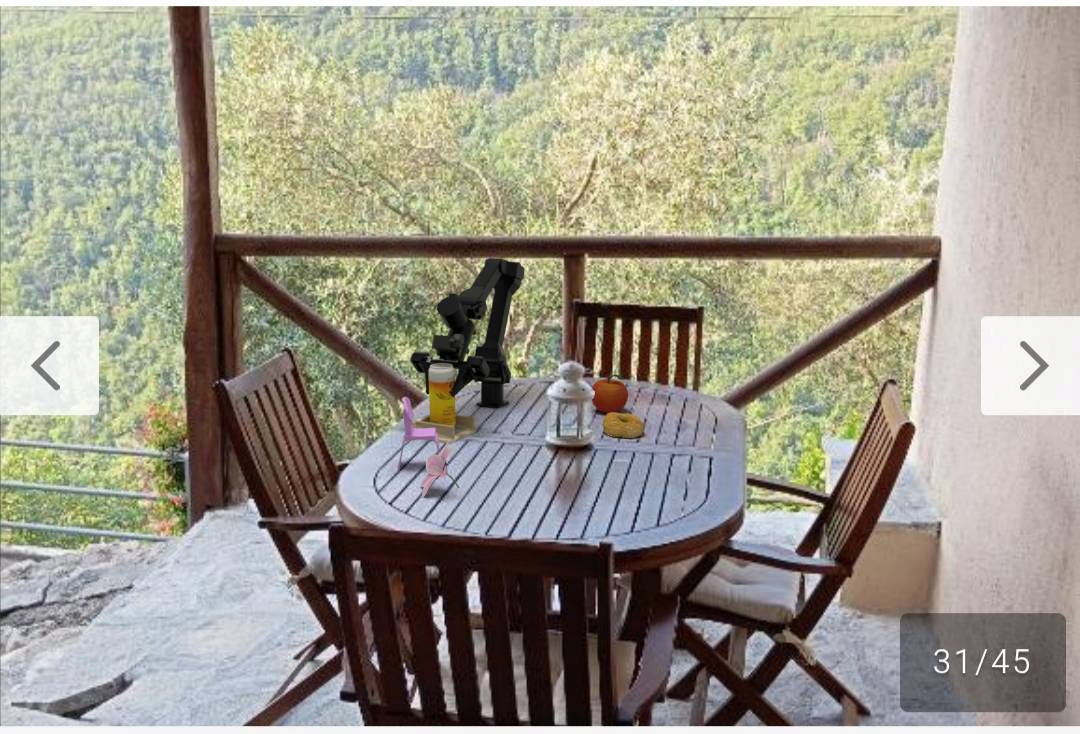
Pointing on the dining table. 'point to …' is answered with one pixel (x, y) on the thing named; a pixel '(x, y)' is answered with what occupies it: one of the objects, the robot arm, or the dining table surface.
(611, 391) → the fruit
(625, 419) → the bagel
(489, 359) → the robot arm
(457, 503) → the dining table surface
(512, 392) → the dining table surface
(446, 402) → the beer can
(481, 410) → the dining table surface
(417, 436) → the toy chair
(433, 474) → the lily
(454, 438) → the gold tray
